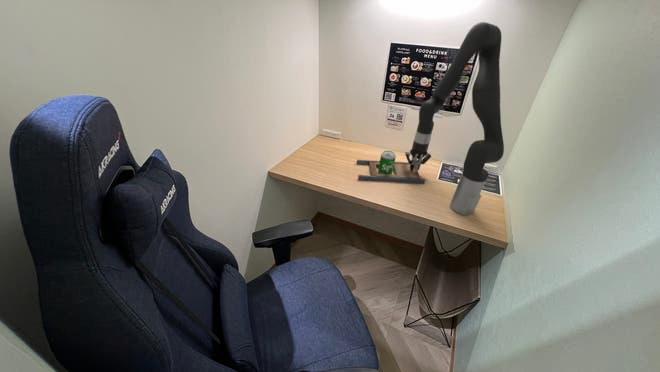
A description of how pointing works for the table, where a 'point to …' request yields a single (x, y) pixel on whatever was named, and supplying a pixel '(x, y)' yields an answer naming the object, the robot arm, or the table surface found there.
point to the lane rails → (387, 179)
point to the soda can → (387, 162)
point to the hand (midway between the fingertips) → (413, 169)
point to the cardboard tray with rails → (397, 170)
